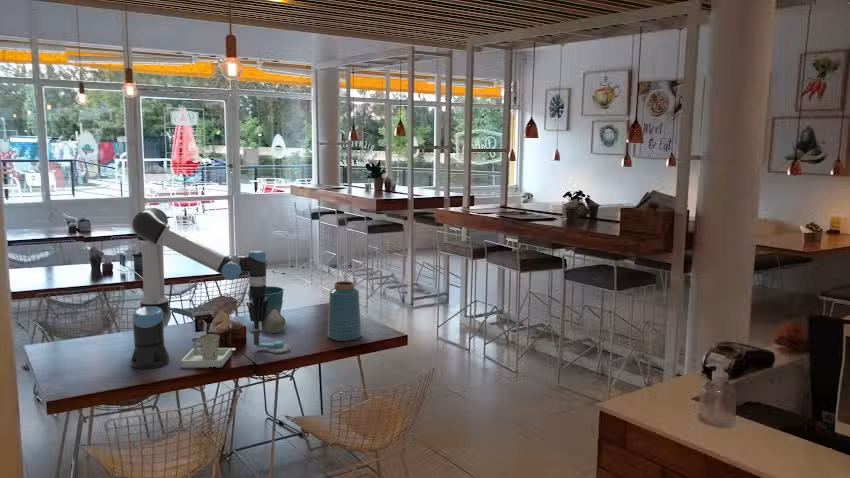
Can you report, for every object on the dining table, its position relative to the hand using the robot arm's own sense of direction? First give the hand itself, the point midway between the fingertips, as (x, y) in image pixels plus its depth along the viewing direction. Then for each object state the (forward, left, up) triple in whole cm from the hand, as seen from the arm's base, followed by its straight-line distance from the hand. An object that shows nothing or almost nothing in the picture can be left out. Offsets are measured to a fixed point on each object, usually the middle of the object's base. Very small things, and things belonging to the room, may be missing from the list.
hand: (258, 335), depth 303 cm
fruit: (+3, +26, -6) cm, 27 cm away
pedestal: (+10, -2, -6) cm, 12 cm away
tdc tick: (-12, -2, -6) cm, 14 cm away
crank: (+5, -3, -5) cm, 7 cm away
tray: (-18, -17, -6) cm, 26 cm away
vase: (+38, +18, -6) cm, 42 cm away
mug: (-19, -16, -6) cm, 26 cm away
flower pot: (-5, +44, -6) cm, 44 cm away
